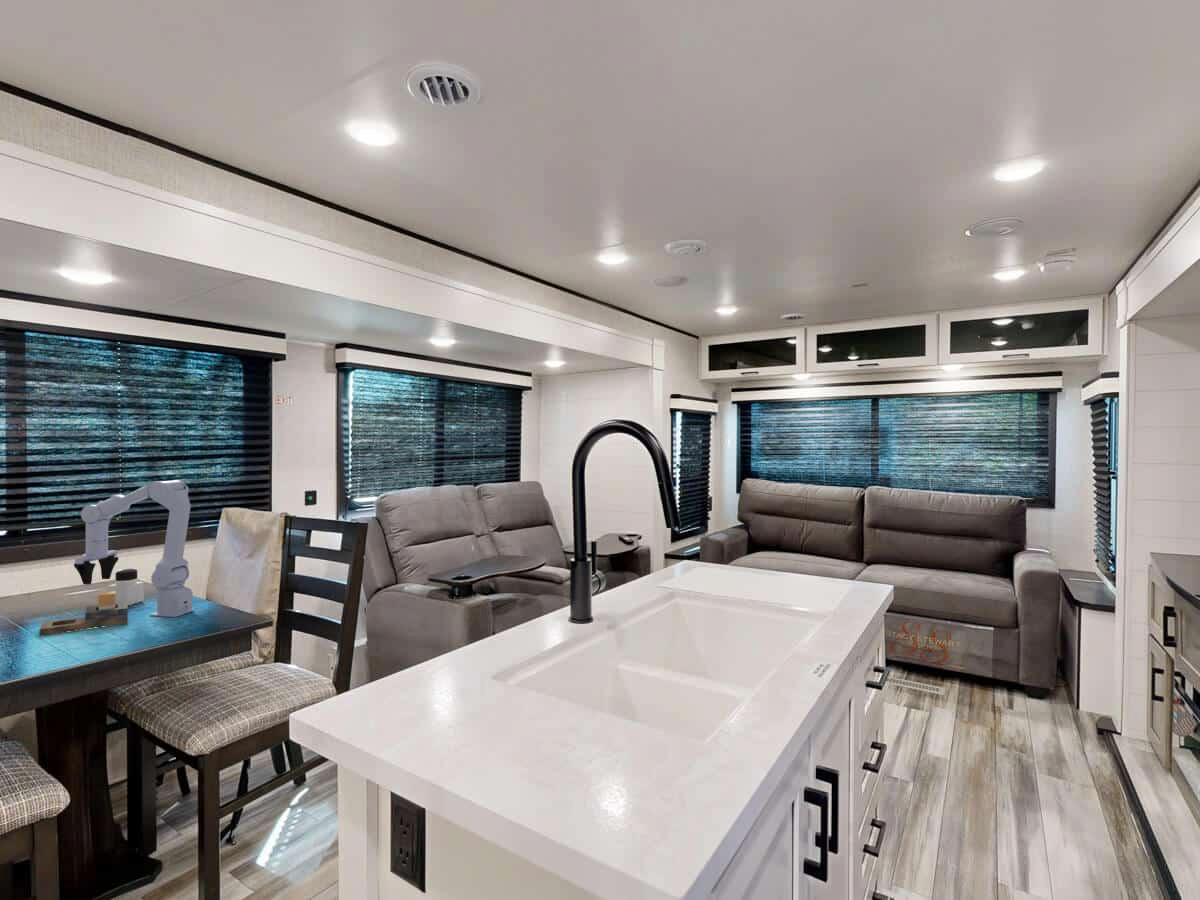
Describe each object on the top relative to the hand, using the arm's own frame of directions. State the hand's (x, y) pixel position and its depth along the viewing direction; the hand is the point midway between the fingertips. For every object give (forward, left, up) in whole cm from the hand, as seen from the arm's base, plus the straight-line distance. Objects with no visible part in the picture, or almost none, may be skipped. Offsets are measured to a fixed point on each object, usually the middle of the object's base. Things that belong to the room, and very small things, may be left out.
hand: (96, 581), depth 199 cm
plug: (-15, +11, -7) cm, 20 cm away
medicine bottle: (-1, -10, -10) cm, 14 cm away
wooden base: (-11, +15, -10) cm, 21 cm away
